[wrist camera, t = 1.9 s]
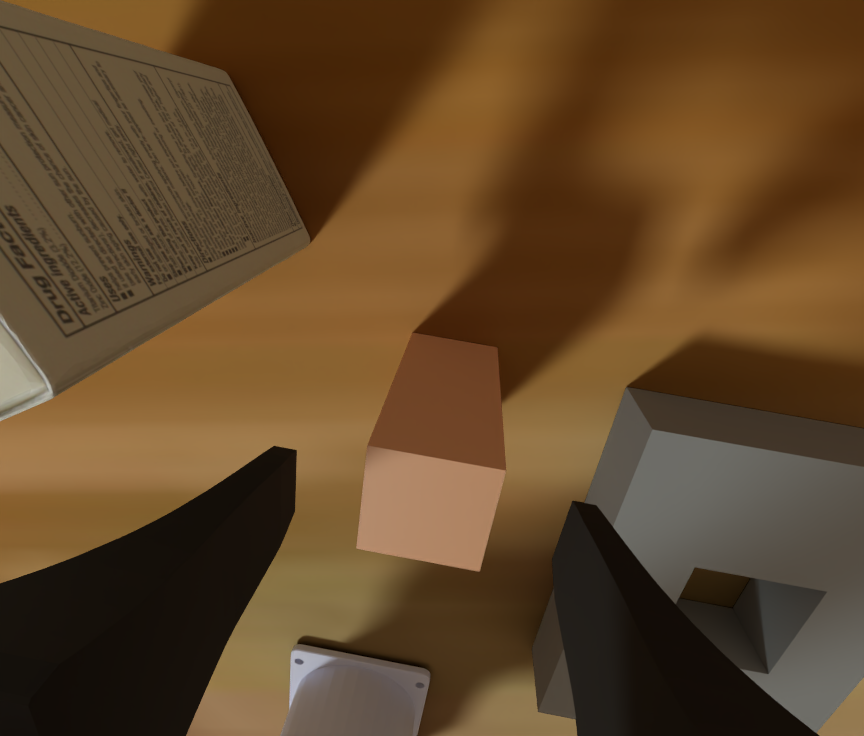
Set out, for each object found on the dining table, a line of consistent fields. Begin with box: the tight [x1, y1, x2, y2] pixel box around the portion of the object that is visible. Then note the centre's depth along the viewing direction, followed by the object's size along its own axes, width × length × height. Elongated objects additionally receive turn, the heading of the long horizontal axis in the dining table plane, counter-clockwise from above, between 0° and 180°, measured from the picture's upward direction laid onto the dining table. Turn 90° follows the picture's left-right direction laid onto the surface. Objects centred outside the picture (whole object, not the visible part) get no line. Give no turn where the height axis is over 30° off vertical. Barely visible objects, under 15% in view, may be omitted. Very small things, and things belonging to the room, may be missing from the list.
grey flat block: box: [532, 387, 864, 733], centre depth 20 cm, size 16×12×3 cm
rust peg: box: [357, 333, 506, 572], centre depth 16 cm, size 3×3×8 cm
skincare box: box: [0, 1, 310, 421], centre depth 12 cm, size 6×4×12 cm
